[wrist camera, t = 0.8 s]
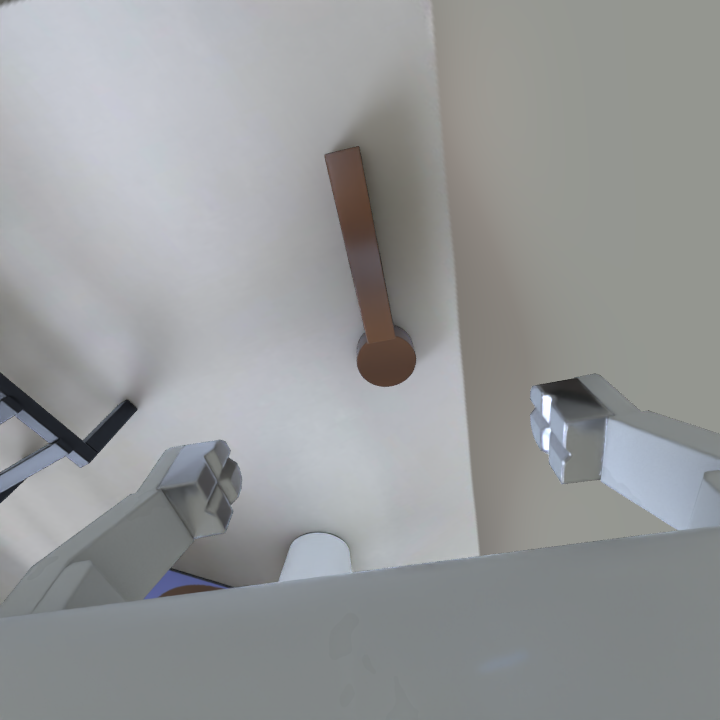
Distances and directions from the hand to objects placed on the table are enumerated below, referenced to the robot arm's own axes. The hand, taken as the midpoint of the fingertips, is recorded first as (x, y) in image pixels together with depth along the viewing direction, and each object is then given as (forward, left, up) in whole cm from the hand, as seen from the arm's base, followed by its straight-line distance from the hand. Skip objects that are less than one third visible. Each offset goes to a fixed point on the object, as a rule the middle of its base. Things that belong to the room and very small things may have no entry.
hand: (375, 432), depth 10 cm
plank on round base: (+1, 0, -18) cm, 18 cm away
